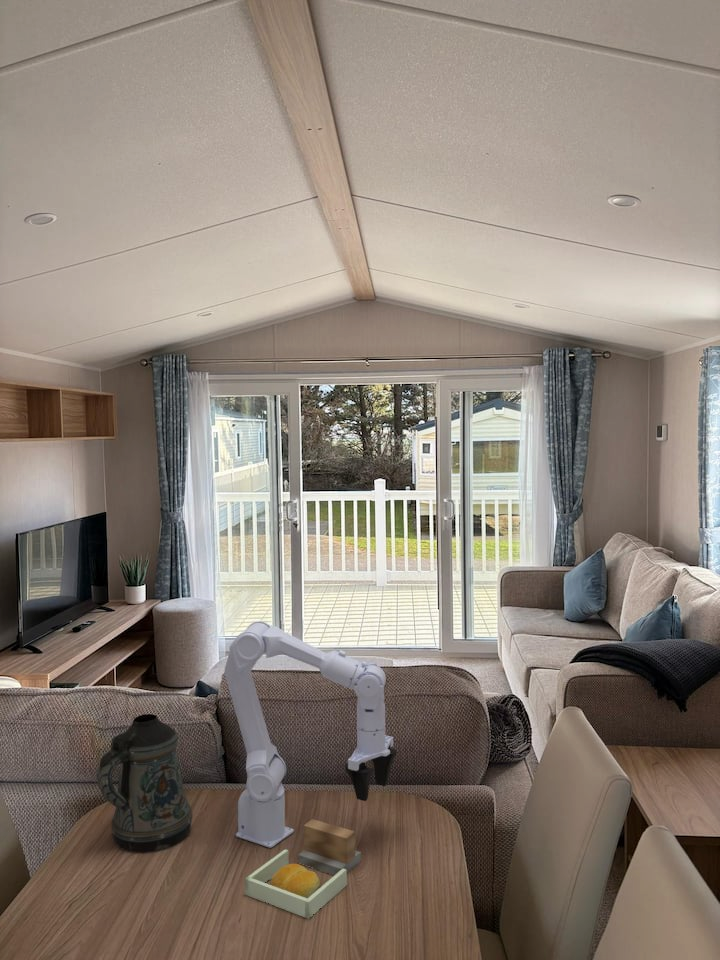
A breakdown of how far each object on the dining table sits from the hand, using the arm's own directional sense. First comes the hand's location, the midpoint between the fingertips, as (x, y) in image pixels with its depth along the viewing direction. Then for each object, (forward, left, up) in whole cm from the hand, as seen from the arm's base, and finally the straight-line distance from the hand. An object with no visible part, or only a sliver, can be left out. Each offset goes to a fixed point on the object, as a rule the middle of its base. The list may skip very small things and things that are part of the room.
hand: (371, 791), depth 164 cm
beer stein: (-41, -22, -11) cm, 48 cm away
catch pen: (-3, -22, -10) cm, 25 cm away
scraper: (-3, -11, -11) cm, 16 cm away
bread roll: (-3, -22, -11) cm, 25 cm away
